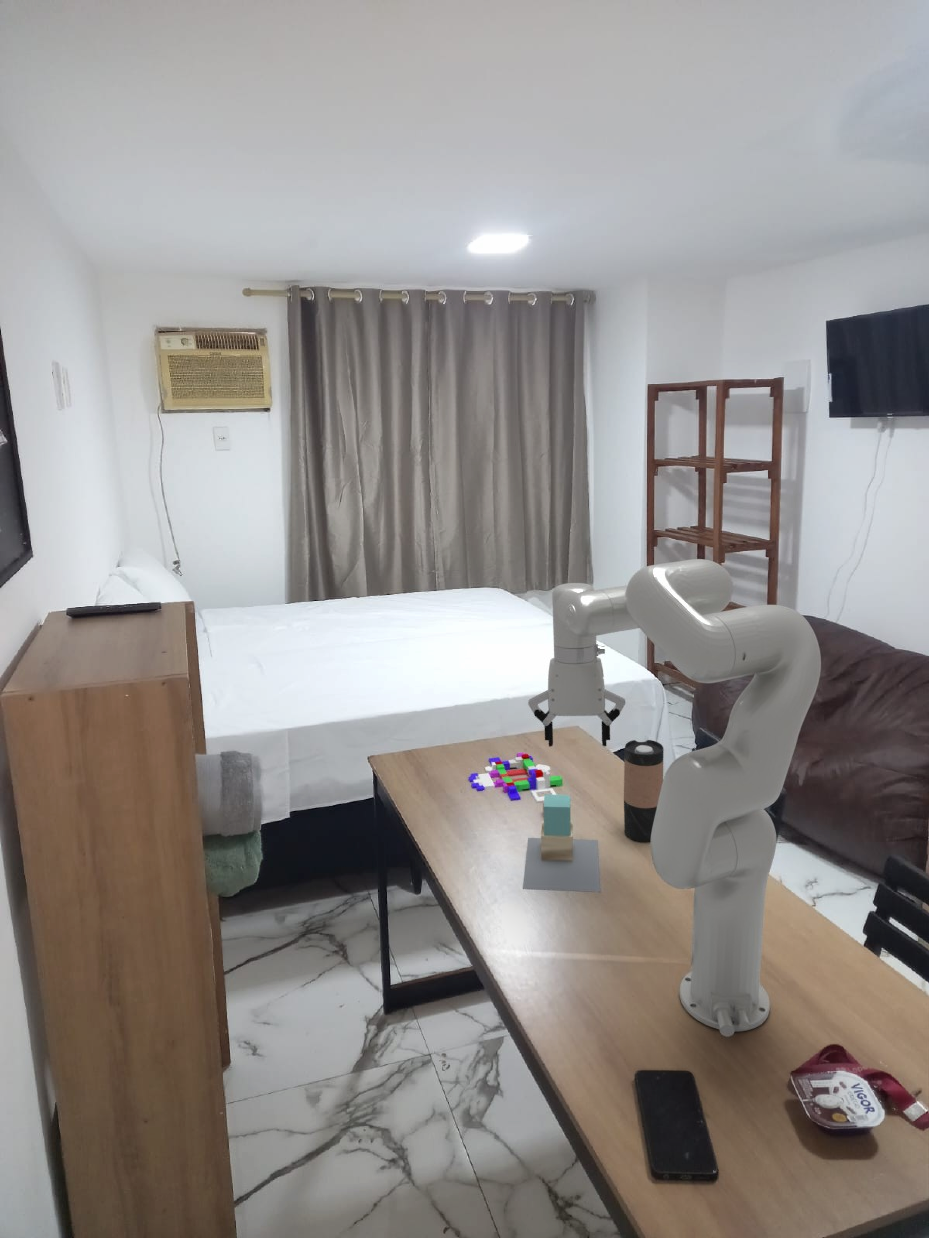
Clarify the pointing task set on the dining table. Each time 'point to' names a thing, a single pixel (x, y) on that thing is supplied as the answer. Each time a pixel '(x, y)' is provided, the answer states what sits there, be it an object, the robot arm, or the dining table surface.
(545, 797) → the teal block
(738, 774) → the robot arm
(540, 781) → the building block set
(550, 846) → the beech block
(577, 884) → the build board
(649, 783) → the travel mug
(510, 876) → the dining table surface
